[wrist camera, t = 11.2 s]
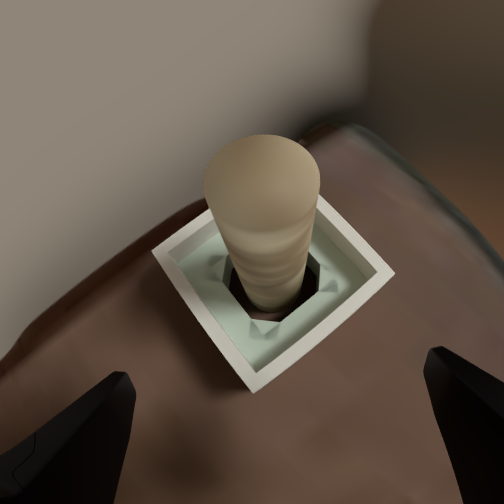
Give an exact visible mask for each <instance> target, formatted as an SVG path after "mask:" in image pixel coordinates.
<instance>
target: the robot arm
mask: <svg viewBox="0 0 504 504" xmlns="http://www.w3.org/2000/svg"><path fill="white" fill-rule="evenodd" d="M423 373H424V378H425V381H426V385H427V389H428V392H429V396H430V400H431V404H432V408H433V411H434V415H435V418H436V421H437V424H438V426H439V429H440V432H441V435H442V437H443V440H444V443H445V446H446V449H447V452H448V455H449V458H450V461H451V464H452V467H453V470H454V473H455V476H456V480H457V483H458V486H459V490H460V493H461V497H462V500H463V504H504V382H502V381H500V380H499V379H497V378H495V377H494V376H492V375H490V374H489V373H487V372H485V371H484V370H482V369H480V368H479V367H477V366H475V365H474V364H472V363H470V362H469V361H467V360H465V359H464V358H462V357H460V356H459V355H457V354H455V353H453V352H452V351H450V350H448V349H447V348H445V347H443V346H438V347H434V348H431V349H430V350H429V352H428V355H427V359H426V362H425V365H424V370H423ZM135 401H136V391H135V388H134V386H133V384H132V382H131V380H130V378H129V376H128V374H127V373H126V372H119V371H115V372H112V373H111V374H110V375H108V376H107V377H106V378H104V379H103V380H102V381H101V382H99V383H98V384H97V385H95V386H94V387H93V388H92V389H90V390H89V391H88V392H86V393H85V394H84V395H82V396H81V397H80V398H78V399H77V400H76V401H75V402H73V403H72V404H71V405H69V406H68V407H67V408H65V409H64V410H63V411H62V412H60V413H59V414H58V415H56V416H55V417H54V418H52V419H51V420H50V421H48V422H47V423H46V424H44V425H43V426H42V427H40V428H39V429H38V430H37V431H36V432H34V433H32V434H31V435H30V436H29V437H27V438H26V439H24V440H23V441H22V442H20V443H19V444H17V445H16V446H14V447H13V448H11V449H10V450H8V451H7V452H5V453H3V454H2V455H0V504H113V503H114V499H115V494H116V490H117V486H118V482H119V478H120V474H121V470H122V466H123V462H124V458H125V454H126V450H127V446H128V442H129V438H130V433H131V426H132V420H133V413H134V407H135Z"/></svg>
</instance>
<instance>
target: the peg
mask: <svg viewBox="0 0 504 504" xmlns="http://www.w3.org/2000/svg"><path fill="white" fill-rule="evenodd" d="M319 188H320V173H319V170H318V167H317V164H316V162H315V160H314V159H313V157H312V156H311V155H310V153H309V152H308V151H307V150H306V149H304V148H303V147H302V146H301V145H299V144H298V143H296V142H294V141H292V140H290V139H287V138H284V137H280V136H276V135H266V134H264V135H253V136H247V137H244V138H241V139H238V140H235V141H233V142H231V143H230V144H228V145H226V146H225V147H224V148H222V149H221V150H220V151H219V152H218V153H216V154H215V156H214V157H213V158H212V159H211V161H210V162H209V164H208V166H207V168H206V170H205V174H204V178H203V191H204V195H205V198H206V201H207V203H208V206H209V208H210V210H211V213H212V215H213V218H214V220H215V222H216V225H217V227H218V229H219V232H220V234H221V237H222V239H223V241H224V244H225V246H226V248H227V251H228V253H229V255H230V258H231V260H232V262H233V265H234V267H235V269H236V272H237V274H238V276H239V279H240V281H241V283H242V286H243V288H244V290H245V292H246V295H247V297H248V299H249V301H250V302H251V303H252V304H253V305H254V306H255V307H256V308H258V309H260V310H262V311H265V312H270V313H276V312H281V311H284V310H286V309H288V308H289V307H291V306H292V305H293V304H294V303H295V302H296V300H297V299H298V297H299V295H300V291H301V287H302V282H303V277H304V272H305V267H306V262H307V256H308V251H309V246H310V240H311V235H312V229H313V223H314V218H315V212H316V206H317V200H318V194H319Z"/></svg>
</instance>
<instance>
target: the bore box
mask: <svg viewBox="0 0 504 504" xmlns="http://www.w3.org/2000/svg"><path fill="white" fill-rule="evenodd" d="M152 253H153V254H154V256H155V257H156V259H157V261H158V262H159V264H160V265H161V267H162V268H163V270H164V271H165V273H166V274H167V276H168V277H169V279H170V280H171V282H172V283H173V285H174V286H175V288H176V289H177V291H178V292H179V294H180V295H181V297H182V298H183V300H184V301H185V302H186V304H187V305H188V307H189V308H190V310H191V311H192V313H193V314H194V315H195V317H196V318H197V320H198V321H199V322H200V324H201V325H202V327H203V328H204V329H205V331H206V332H207V334H208V335H209V336H210V338H211V339H212V341H213V342H214V343H215V345H216V346H217V347H218V349H219V350H220V351H221V353H222V354H223V355H224V357H225V358H226V359H227V361H228V362H229V363H230V365H231V366H232V367H233V369H234V370H235V371H236V372H237V374H238V375H239V376H240V378H241V379H242V380H243V381H244V383H245V384H246V385H247V387H248V388H249V389H250V390H251V392H252V393H255V392H257V391H258V390H260V389H261V388H262V387H264V386H265V385H266V384H268V383H269V382H270V381H272V380H273V379H274V378H276V377H277V376H278V375H280V374H281V373H282V372H284V371H285V370H286V369H287V368H289V367H290V366H291V365H293V364H294V363H295V362H296V361H298V360H299V359H300V358H301V357H303V356H304V355H305V354H306V353H308V352H309V351H310V350H311V349H312V348H314V347H315V346H316V345H317V344H319V343H320V342H321V341H322V340H323V339H324V338H326V337H327V336H328V335H329V334H330V333H332V332H333V331H334V330H335V329H336V328H337V327H339V326H340V325H341V324H342V323H343V322H344V321H345V320H347V319H348V318H349V317H350V316H351V315H352V314H353V313H354V312H355V311H357V310H358V309H359V308H360V307H361V306H362V305H363V304H364V303H365V302H366V301H368V300H369V299H370V298H371V297H372V296H373V295H374V294H375V293H376V292H377V291H378V290H379V289H380V288H381V287H382V286H383V285H384V284H385V283H386V282H387V281H388V280H389V279H390V278H391V277H392V276H393V275H394V274H395V273H394V271H393V270H392V269H391V268H390V267H389V266H388V265H387V264H386V263H385V262H384V260H383V259H382V258H381V257H380V256H379V255H378V254H377V253H376V252H375V251H374V250H373V249H372V248H371V246H370V245H369V244H368V243H367V242H366V241H365V240H364V239H363V238H362V237H361V236H360V235H359V234H358V233H357V232H356V231H355V230H354V229H353V228H352V227H351V226H350V225H349V224H348V223H347V222H346V221H345V220H344V219H343V218H342V217H341V215H340V214H339V213H338V212H337V211H336V210H335V209H333V208H332V207H331V206H330V205H329V204H328V203H327V202H326V201H325V200H324V199H323V198H322V197H321V196H320V195H319V194H318V200H317V206H316V212H315V218H314V223H313V229H312V235H311V240H310V246H309V251H308V256H307V262H306V265H307V266H308V267H309V268H310V269H311V271H312V272H313V273H314V274H315V275H316V276H317V279H316V292H315V295H313V296H312V297H311V298H310V299H308V300H307V301H306V302H305V303H304V304H302V305H301V306H300V307H299V308H297V309H296V310H295V311H294V312H292V313H291V314H290V315H289V316H287V317H286V318H285V319H284V320H282V321H281V322H273V321H263V320H254V319H251V318H250V317H249V316H248V314H247V313H246V312H245V311H244V309H243V308H242V307H241V305H240V304H239V303H238V302H237V300H236V299H235V298H234V296H233V295H232V294H231V293H230V291H229V284H230V278H231V272H232V268H233V267H234V265H233V262H232V260H231V258H230V255H229V253H228V251H227V248H226V246H225V244H224V241H223V239H222V237H221V234H220V232H219V229H218V227H217V225H216V222H215V220H214V218H213V215H212V213H211V210H210V209H208V210H207V211H205V212H204V213H203V214H201V215H200V216H198V217H197V218H195V219H194V220H193V221H191V222H190V223H189V224H187V225H186V226H184V227H183V228H182V229H180V230H179V231H178V232H176V233H175V234H173V235H172V236H171V237H169V238H168V239H167V240H165V241H164V242H163V243H161V244H160V245H159V246H157V247H156V248H155V249H153V250H152Z"/></svg>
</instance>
